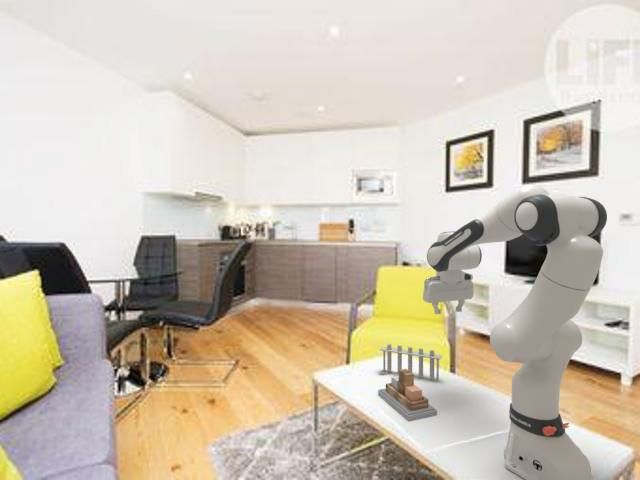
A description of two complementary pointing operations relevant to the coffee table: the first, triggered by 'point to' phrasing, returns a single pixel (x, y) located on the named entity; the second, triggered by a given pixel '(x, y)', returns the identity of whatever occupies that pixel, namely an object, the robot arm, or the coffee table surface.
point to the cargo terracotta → (413, 393)
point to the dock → (403, 410)
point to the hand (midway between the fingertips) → (448, 312)
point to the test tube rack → (410, 360)
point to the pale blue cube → (395, 382)
